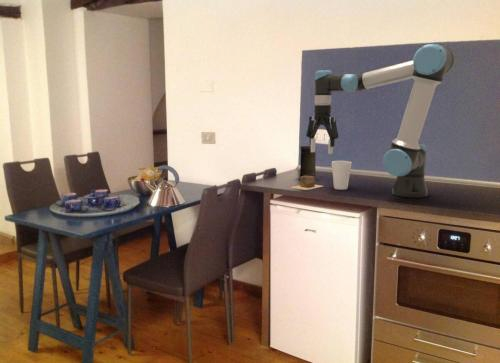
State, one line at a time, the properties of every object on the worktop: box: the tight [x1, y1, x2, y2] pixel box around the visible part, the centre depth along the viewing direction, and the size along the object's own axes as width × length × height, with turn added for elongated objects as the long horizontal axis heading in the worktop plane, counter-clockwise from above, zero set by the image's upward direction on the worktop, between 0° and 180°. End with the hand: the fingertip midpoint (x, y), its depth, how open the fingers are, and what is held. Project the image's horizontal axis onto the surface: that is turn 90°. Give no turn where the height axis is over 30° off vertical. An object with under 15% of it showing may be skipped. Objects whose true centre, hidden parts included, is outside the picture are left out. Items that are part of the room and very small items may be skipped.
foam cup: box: [331, 160, 352, 190], centre depth 222 cm, size 10×9×13 cm
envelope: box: [290, 184, 324, 191], centre depth 227 cm, size 10×14×1 cm
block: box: [299, 175, 316, 188], centre depth 227 cm, size 5×5×5 cm
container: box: [298, 145, 317, 182], centre depth 245 cm, size 9×9×18 cm
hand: (321, 152), depth 219 cm, fingers open, 9 cm apart
